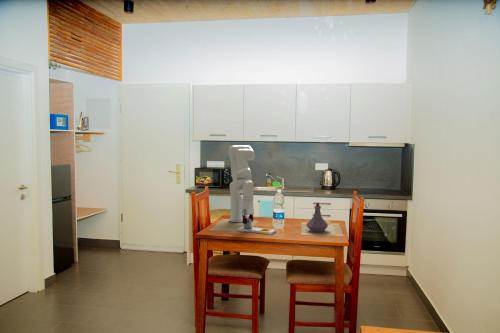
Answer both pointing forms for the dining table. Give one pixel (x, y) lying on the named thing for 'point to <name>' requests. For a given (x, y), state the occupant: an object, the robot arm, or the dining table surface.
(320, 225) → the flask
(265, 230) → the white flat tray
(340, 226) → the dining table surface
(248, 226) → the nut block
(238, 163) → the robot arm
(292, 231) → the dining table surface
